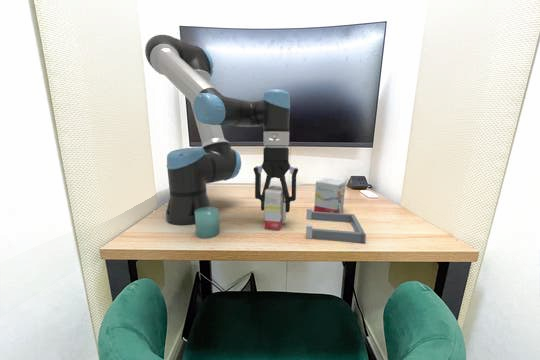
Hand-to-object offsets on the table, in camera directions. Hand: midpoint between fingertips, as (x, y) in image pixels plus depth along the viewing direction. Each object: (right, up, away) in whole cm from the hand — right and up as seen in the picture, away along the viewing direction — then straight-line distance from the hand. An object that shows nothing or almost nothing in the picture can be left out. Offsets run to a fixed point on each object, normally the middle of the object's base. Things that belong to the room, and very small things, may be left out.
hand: (275, 220), depth 67 cm
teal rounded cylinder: (-20, -3, -6) cm, 21 cm away
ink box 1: (0, -1, 0) cm, 1 cm away
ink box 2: (+21, +1, +13) cm, 24 cm away
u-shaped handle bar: (+18, -2, -3) cm, 18 cm away
